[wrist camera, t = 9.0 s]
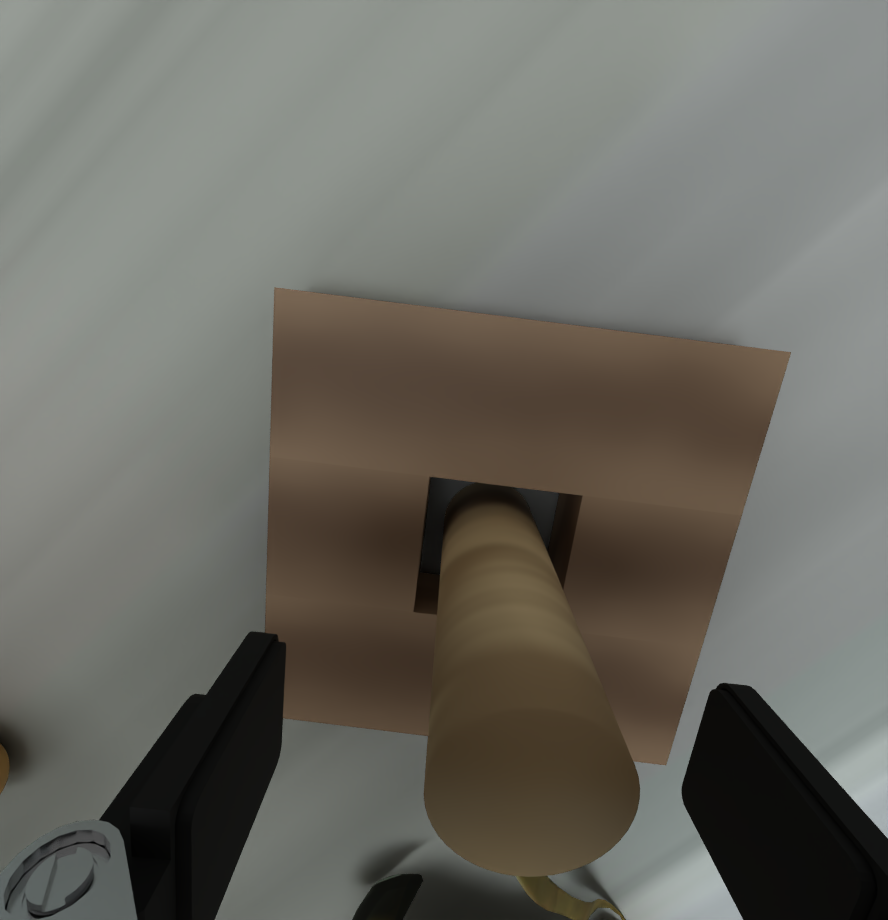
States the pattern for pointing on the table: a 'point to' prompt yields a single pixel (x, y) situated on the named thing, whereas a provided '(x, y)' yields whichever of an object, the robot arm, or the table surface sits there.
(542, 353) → the socket block
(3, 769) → the figurine
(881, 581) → the table surface
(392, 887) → the red green tall figure
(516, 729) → the peg
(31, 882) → the robot arm
